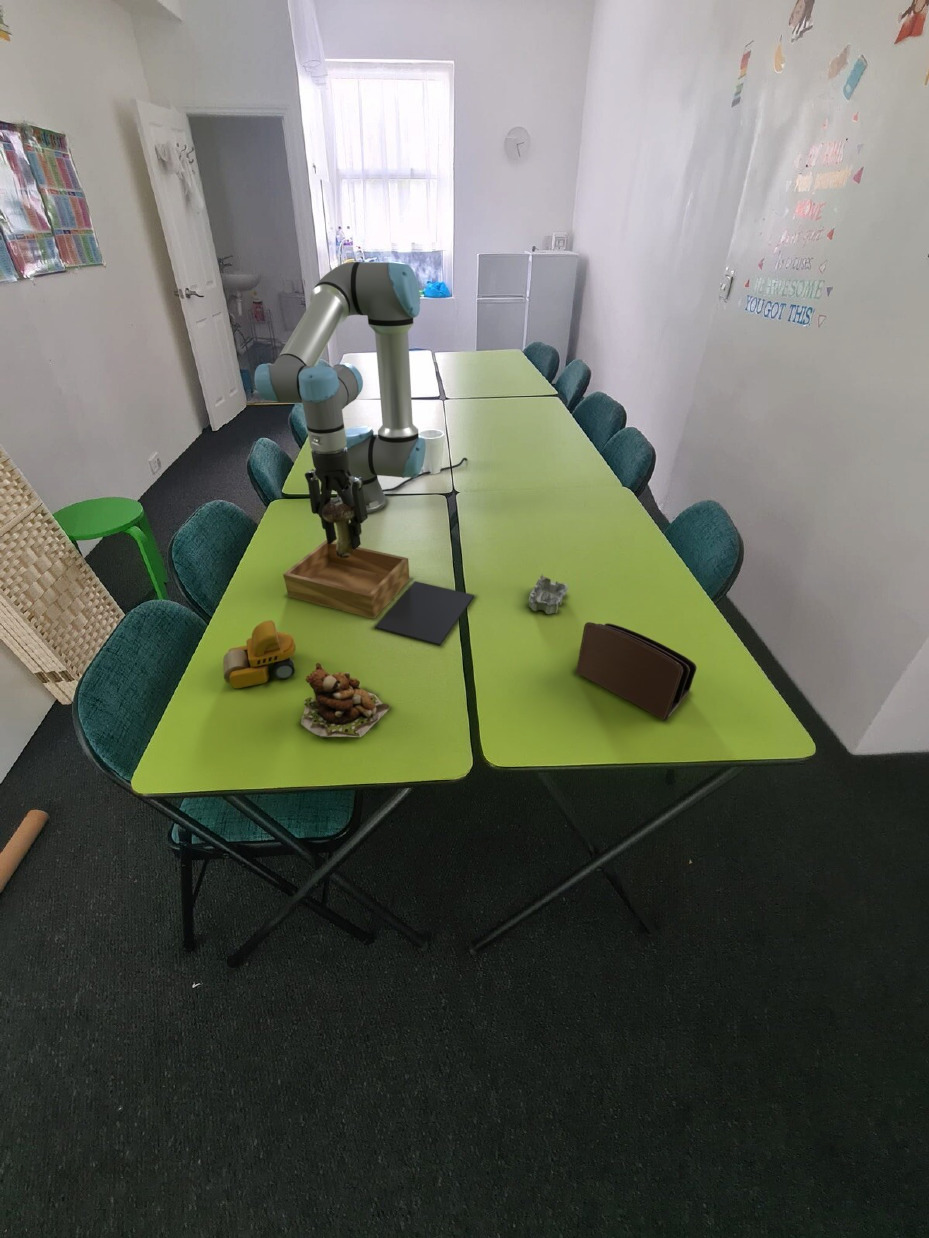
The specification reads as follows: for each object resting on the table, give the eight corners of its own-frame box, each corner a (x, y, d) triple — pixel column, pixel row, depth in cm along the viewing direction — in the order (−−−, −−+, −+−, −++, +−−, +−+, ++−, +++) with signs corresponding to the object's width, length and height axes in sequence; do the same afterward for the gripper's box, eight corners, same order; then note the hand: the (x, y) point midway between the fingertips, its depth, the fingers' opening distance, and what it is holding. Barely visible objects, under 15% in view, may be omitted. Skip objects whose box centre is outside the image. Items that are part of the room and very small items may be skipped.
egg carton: (540, 586, 139) (541, 572, 136) (569, 594, 136) (571, 580, 134) (524, 609, 131) (525, 594, 129) (554, 617, 128) (556, 603, 126)
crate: (329, 560, 149) (326, 539, 145) (409, 579, 141) (408, 558, 138) (288, 596, 136) (282, 574, 132) (374, 619, 128) (371, 596, 124)
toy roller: (226, 665, 116) (212, 625, 109) (296, 649, 120) (287, 610, 113) (227, 694, 109) (213, 653, 103) (302, 675, 113) (292, 635, 107)
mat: (415, 583, 140) (415, 581, 140) (474, 597, 135) (474, 595, 135) (375, 628, 125) (374, 626, 125) (439, 646, 120) (439, 643, 120)
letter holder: (665, 722, 103) (683, 665, 94) (574, 673, 113) (583, 618, 105) (689, 693, 109) (707, 637, 100) (600, 649, 119) (610, 595, 111)
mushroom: (356, 570, 129) (349, 512, 120) (321, 564, 131) (312, 507, 121) (370, 549, 137) (364, 492, 127) (336, 544, 138) (329, 488, 128)
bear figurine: (360, 753, 97) (352, 704, 90) (289, 728, 102) (276, 679, 94) (397, 701, 107) (392, 653, 100) (331, 680, 112) (322, 633, 104)
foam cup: (416, 474, 195) (413, 437, 187) (422, 464, 202) (420, 428, 194) (442, 476, 193) (441, 439, 186) (447, 466, 201) (446, 430, 193)
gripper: (280, 448, 117) (301, 543, 132) (358, 461, 112) (371, 559, 126) (302, 436, 123) (319, 529, 137) (377, 448, 117) (387, 544, 131)
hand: (344, 543), depth 131 cm, fingers closed on mushroom, 6 cm apart
